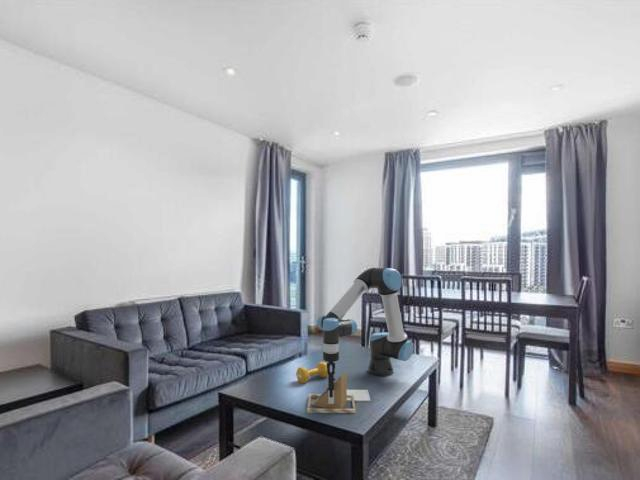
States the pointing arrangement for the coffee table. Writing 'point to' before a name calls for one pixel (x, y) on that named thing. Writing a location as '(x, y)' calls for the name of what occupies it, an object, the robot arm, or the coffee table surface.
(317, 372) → the dumbbell
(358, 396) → the grey pad
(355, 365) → the coffee table surface
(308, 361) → the coffee table surface
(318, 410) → the birch frame
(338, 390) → the sandwich container
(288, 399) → the coffee table surface
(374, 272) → the robot arm
